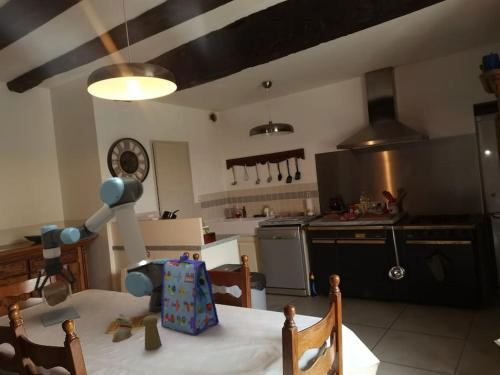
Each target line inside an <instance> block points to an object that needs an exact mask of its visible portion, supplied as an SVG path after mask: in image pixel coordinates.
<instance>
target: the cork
mask: <svg viewBox="0 0 500 375" xmlns="http://www.w3.org/2000/svg"><path fill="white" fill-rule="evenodd" d="M157 324H158V317H157V316H156V315H154V314H150V315H147V316H145V317H143V319H142V326H143V327H144V350H145V351H154V350H158V349H160V348H161V347H162V345H163V344H162V340H161V336H160V332H159V328H158V325H157Z"/></svg>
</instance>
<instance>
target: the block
mask: <svg viewBox="0 0 500 375" xmlns="http://www.w3.org/2000/svg"><path fill="white" fill-rule="evenodd" d="M42 290H44V297H45V302H46V303H47V305H48V306H50V307H55V306H58V305H59V304H62V303H63V302H65V301H66V300H67V299H68V298H69V297H70V296H69V288H68V285H67V284H66V283H65V282H64V281H62V280H59V281H54V282H52V283H49V284H45V286H44V287H43V289H42Z"/></svg>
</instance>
